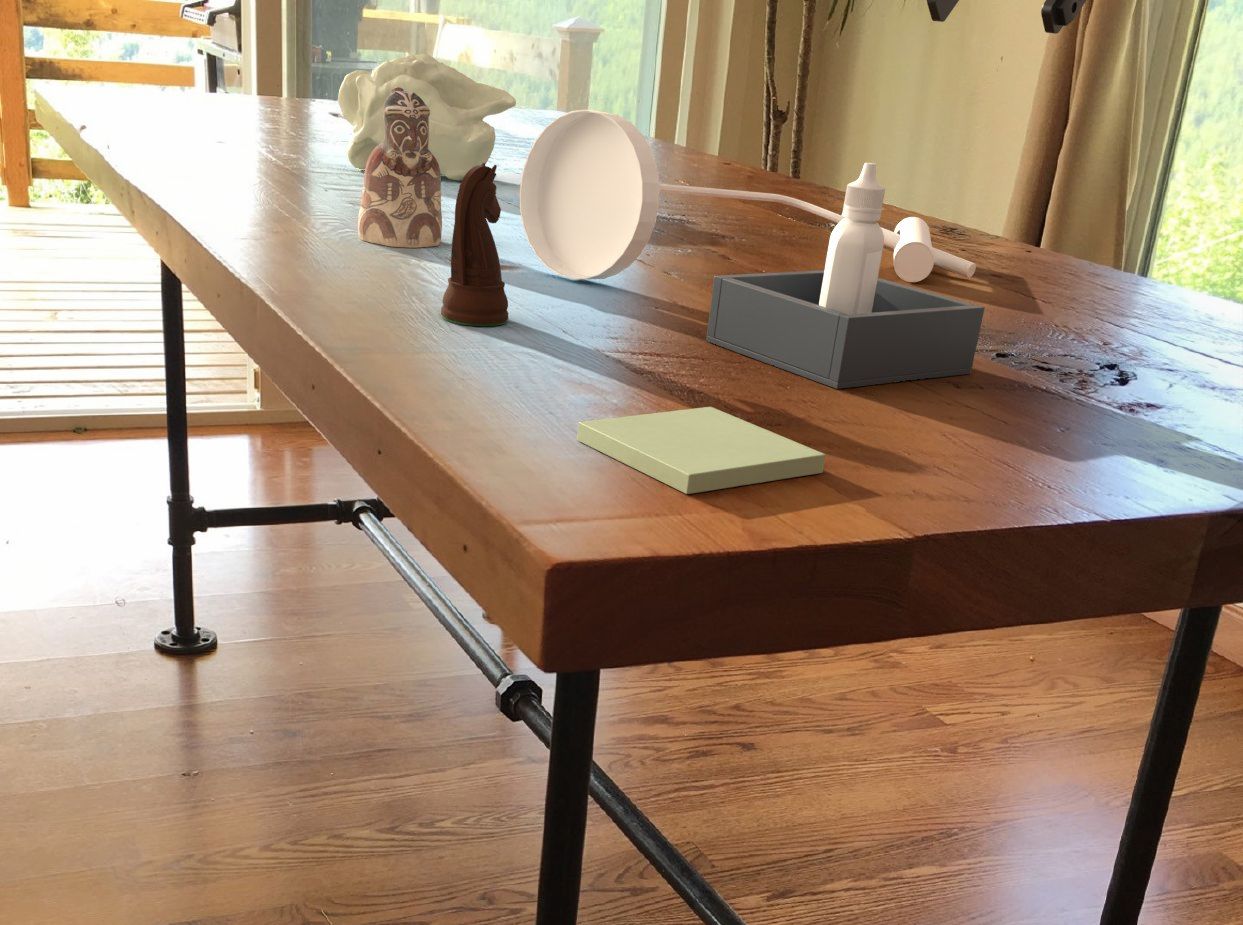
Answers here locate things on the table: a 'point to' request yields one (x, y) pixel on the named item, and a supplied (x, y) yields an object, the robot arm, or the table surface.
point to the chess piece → (475, 255)
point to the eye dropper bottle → (855, 248)
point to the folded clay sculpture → (444, 91)
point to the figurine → (402, 179)
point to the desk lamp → (642, 202)
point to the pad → (700, 449)
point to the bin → (843, 330)
